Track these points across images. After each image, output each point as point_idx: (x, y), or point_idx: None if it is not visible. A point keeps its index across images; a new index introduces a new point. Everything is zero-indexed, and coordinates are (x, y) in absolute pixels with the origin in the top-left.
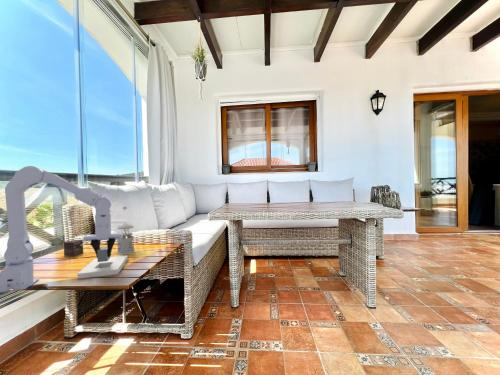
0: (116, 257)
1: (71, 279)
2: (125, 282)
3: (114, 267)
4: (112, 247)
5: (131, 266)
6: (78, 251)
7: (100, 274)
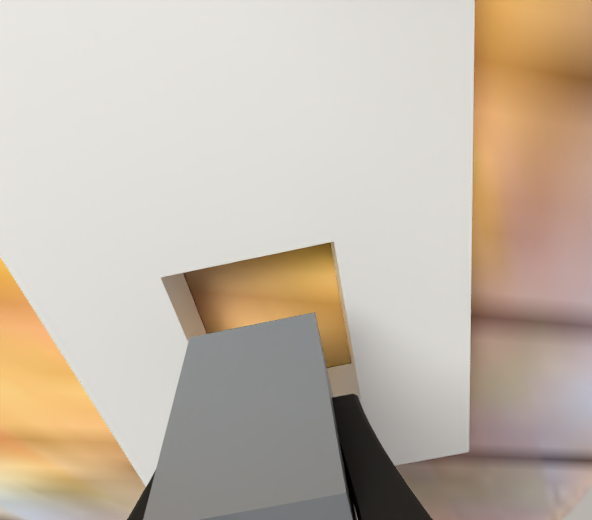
0: None
1: (127, 472)
2: (534, 513)
3: (425, 415)
4: (421, 509)
5: (542, 245)
6: None
7: None
